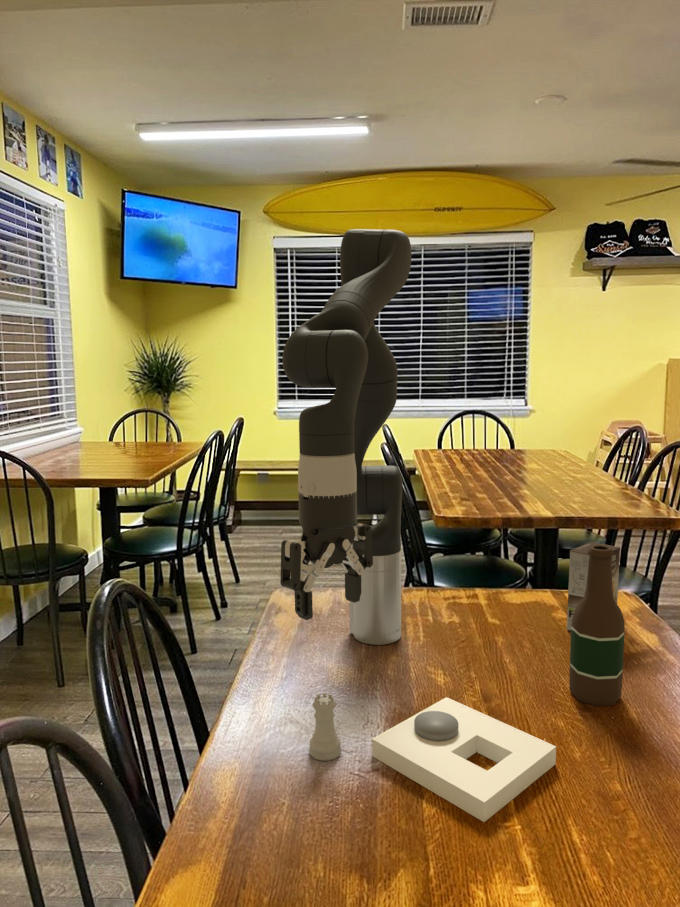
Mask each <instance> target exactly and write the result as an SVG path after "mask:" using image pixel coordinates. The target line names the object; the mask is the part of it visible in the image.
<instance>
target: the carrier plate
mask: <svg viewBox="0 0 680 907" xmlns="http://www.w3.org/2000/svg"><path fill="white" fill-rule="evenodd" d="M476 753H477V754H480V755H481V756H483V757H485V758H488V759H489V760H491V761H493V762H495V763H496V764H495V765H494V766H491V768H489V769H488V770H487V769H485V768H483V767H481V766H479V765H477V764H476V763H473V762H471V761H470V760H467V759H469V758H470V757H471V756H473V755H475V754H476ZM371 756H372V757H373V758H374V759H376V760H378V761H380V762H382V763H383V764H385V765H387V766H388V767H390V768H392V769H393V770H395V771H396V772H399V773H400V774H402V775H403V776H405V777H407V778H408V779H410V780H412V781H414V782H416V783H417V784H419V785H420V786H422V787H424V788H425V789H426V790H429V791H430V792H432V793H434V794H436V795H437V796H439V797H441V798H442V799H444V800H446V801H448V802H449V803H451V804H452V805H455V806H456V807H458V808H460V809H461V810H463V812H465V813H467V814H469V815H470V816H473V817H474V818H476V819H478V820H479V821H481V822H483V823H485V822H487V821H488V820H489V819H490V818H491V817H493V816H494V815H495V814H496V813H498V812H499V811H500V810H501V809H503V808H504V807H505V806H507V804H508V803H510V802H511V801H513V800H514V799H515V798H516V797H517V796H519V795H520V794H521V793H523V792H524V790H526V789H527V788H528V787H530V786H531V785H532V784H534V783H535V782H536V781H537V780H538V779H539V778H540V777H542V776H543V775H545V773H547V772H548V771H549V770H550V769H552V768H553V767H554V766H555V765H556V763H557V762H556V760H557V746H556V745H553V743H549V742H548V741H545V740H543V739H540V738H538V737H536V736H534V735H531V734H530V733H527V732H525V731H523V730H521V729H518V728H516V727H514V726H512V725H510V724H507V723H505V722H503V721H501V720H499V719H497V718H494V717H492V716H489V715H487V714H485V713H482V712H480V711H479V710H476V709H475V708H472V707H470V706H467V705H464V704H463V703H461V702H458V701H456V700H453V699H452V698H450V697H447V696H446V697H444V698H442V699H441V700H439V701H436V702H435V703H433V704H432V705H430V706H428V707H426V708H425V709H423V710H421V711H419V712H417V713H415V714H414V715H412V716H411V717H409V718H407V719H405V720H403V721H401V722H399V723H397V724H395V725H394V726H393V727H391V728H389V729H387V730H386V731H384V732H381V733H380V734H378V735H377V736H374V737H373V738H371Z"/></svg>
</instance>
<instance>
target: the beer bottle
mask: <svg viewBox="0 0 680 907" xmlns="http://www.w3.org/2000/svg"><path fill="white" fill-rule="evenodd" d="M588 554H589V555H590V557H589V566H588V575H587V585H586V590H585V595H584V597H583V599H582V600H581V601H580V602H579V604H578V605H577V606H576V608H575V611H574V613H573V615H572V624H571V631H570V647H569V648H570V649H569V650H570V652H569V653H570V654H569V678H568V679H569V691H570V693H571V692H572V693H571V694H572V695H573V696H574V697H575V698H576V700H578V702H582V703H585V704H588V705H591V706H595V707H604V706H614V705H616V703H617V702H618V701H619V699H620V698H621V696H622V691H623V689H622V688H623V678H624V677H623V675H624V674H623V672H624V654H625V653H624V652H625V633H626V632H625V618H624V616H623V612H622V610H621V608H620V607H619V604H618V602H617V603H616V602H615V600H614V596H613V589H612V556H614V553H613V549H611V548H609V547H607V546H602V545H595V546H592V547H590V548H589V550H588Z"/></svg>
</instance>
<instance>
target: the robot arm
mask: <svg viewBox="0 0 680 907" xmlns="http://www.w3.org/2000/svg"><path fill="white" fill-rule="evenodd" d="M410 241H411V240H410V238H409V236H408V235H407V234H406V233H405V232H403V231H401V230H397V229H380V228H379V229H378V228H377V229H374V228H373V229H372V228H369V229H368V228H353V229H348V230H346V231H345V233H344V234H343V236H342V238H341V243H340V249H339V250H340V252H339V267H340V281H341V283H340V284H341V286H340V287H338V288H337V289H335V291H334V292H333V293H332V295H331V296H330V297H329V298H328V300H327V301H326V303H325V305H324V306H323V307H322V310H321V311H320V313H317V314H315V315H314V316H312V317H311V318H310V319H308V320H307V321H305V322H304V323H302V324H301V325H299V326H298V327H297V328H296V329H295V330H294V331H293V332H292V333H291V334H290V336H289V337H288V339H287V341H286V343H285V345H284V348H283V350H282V351H283V352H282V358H281V360H282V361H281V362H282V368H283V371H284V373H285V375H286V377H287V378H288V380H289V381H291V383H292V384H294V385H296V386H299V387H303V388H335V391H334V393H333V396H332V398H331V400H330V401H328V402H326V403H324V404H320V405H313V406H310V407H307V408H305V409H303V410H302V411H301V412H300V414H299V417H298V432H299V433H298V437H299V438H298V440H299V441H298V442H299V443H298V444H299V456H298V457H299V459H298V467H297V468H298V469H297V481H298V482H297V485H298V486H297V487H298V488H297V490H298V492H297V494H298V521H299V525H300V526H301V528H302V529H301V530H302V534H301V536H300V539H297V540H288V539H283V540H282V542H281V544H280V545H281V546H280V579H279V581H280V582H279V583H280V586H281V587H283V588H286V589H289V590H292V591H294V612H295V614H296V615H297V616H298V617H299V618H300V619H303V620H306V621H309V620H311V619H313V616H314V614H313V612H314V611H313V591H312V587H313V586H314V583H315V581H316V579H317V578H318V577H319V578H320V576H321V575H322V573H323V572H324V569H328V568H331V567H332V566H335V565H341V566H342V567H343V568H344V570H345V573H344V598H345V599H346V601H348V602H349V605H348V606H349V633H350V634H351V635H353V638H354V639H355V640H356V641H358V642H360V643H363V644H367V645H375V646H378V645H380V646H381V645H388V644H392V643H395V642H397V641H398V640H400V638H401V636H402V538H401V536H402V534H401V531H402V530H401V528H402V526H401V524H402V522H401V521H402V520H401V519H402V503H403V477H402V472H401V470H400V469H399V467H398V466H396V465H363V462H364V459H365V455H366V453H367V451H368V449H369V446H370V445H371V443H372V442H373V439H374V438H375V437H376V435H377V434H378V432H379V431H380V429H382V427H383V425H384V424H385V422H386V421H387V419H388V418H389V416H390V415H391V414H392V412H393V411H394V408H395V406H396V403H397V401H398V400H397V398H398V394H397V393H398V364H397V361H396V359H395V357H394V355H393V352H392V350H391V349H390V348H389V345H388V344H387V342H386V341H385V339H384V338H383V336H382V335H381V333H380V332H379V330H378V327H376V325H375V320H376V319H377V317H378V316H379V314H380V312H382V310H383V309H384V308H385V307H386V306H387V305H388V303H390V302H391V301H392V300H393V299H394V297H395V296H396V295H397V294H398V293H399V292H400V290H402V288H403V287H404V286H405V284H406V282H407V280H408V278H409V275H410V272H411V268H412V267H411V265H412V246H411V242H410ZM361 515H362V516H375V515H376V516H377V515H379V516H381V515H383V517H382V518H381V519H380V521H378V522H377V523H375V524H373V525H371V524H366V523H361V522H358V516H361ZM310 563H311V564H312V566H311V565H309V564H310Z"/></svg>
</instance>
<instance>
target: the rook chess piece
mask: <svg viewBox="0 0 680 907" xmlns="http://www.w3.org/2000/svg"><path fill="white" fill-rule="evenodd" d="M312 707H313V709H314V710H315V712H314V716H313V717H314V718H315V728H314V732H313V733H312V737H310V739H309V748H308V751H309V754H310V756H311V757H312V758H313V759H315V760H316V761H320V762H328V761H333V760H335V759H337V758H338V756H339V755H340V754H341V752H342V743H341V742H342V741H341V739H340V737H339V736H338V733H337V732H336V728H335V727H336V726H335V723H334V720H335V719H334V718H335V717H336V714H335V712H334V709H335V708H336V707H337V702H336V701H335V699H334V696H333V694H331V693H329V694H328V696H327V693H326V692H323V693H322V696H321V693H318V694H317V695H316V696H315V697H314V701H313V702H312Z"/></svg>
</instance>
